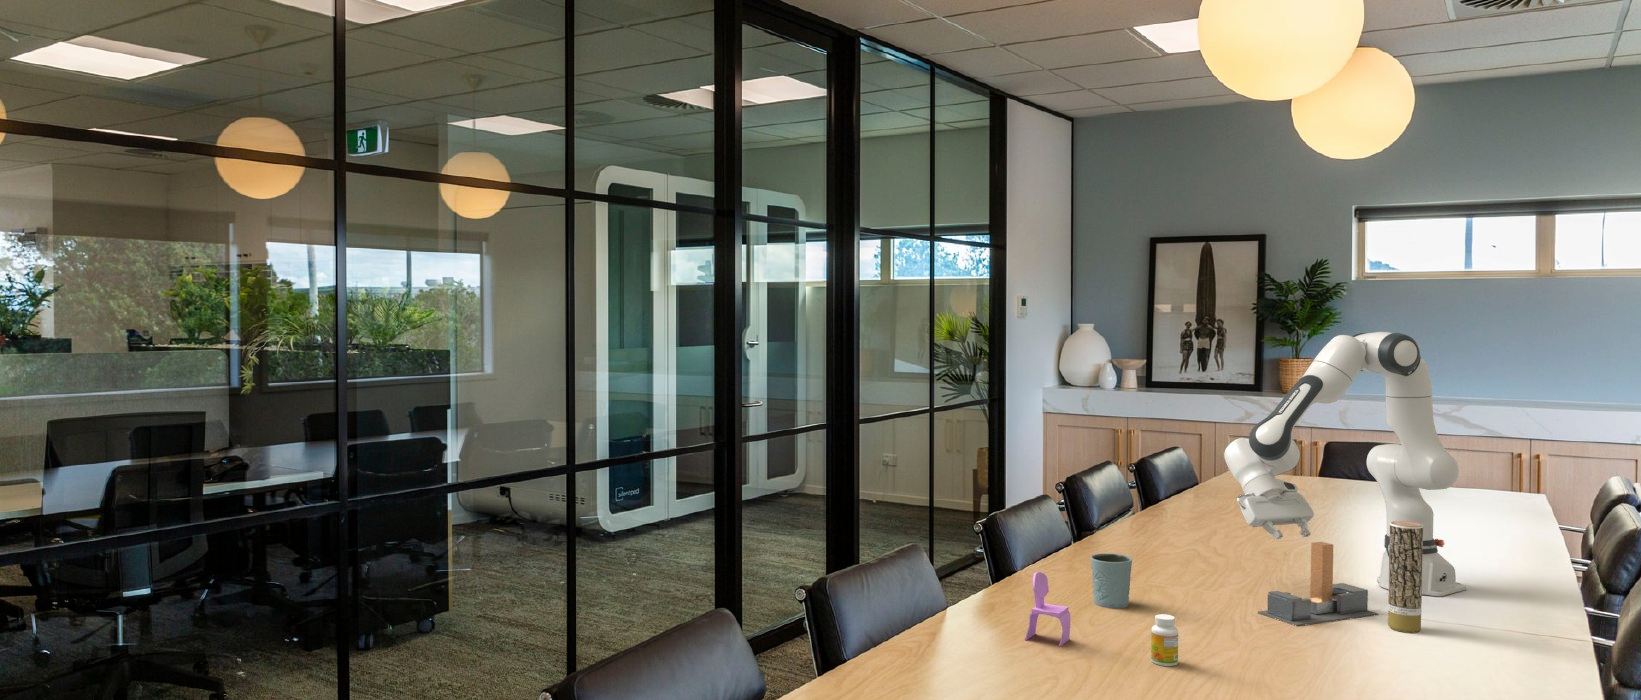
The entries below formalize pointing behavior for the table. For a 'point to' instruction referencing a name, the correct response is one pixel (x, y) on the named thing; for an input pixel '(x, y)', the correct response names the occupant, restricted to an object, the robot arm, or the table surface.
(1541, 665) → the table surface
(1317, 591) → the brown piece
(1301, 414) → the robot arm
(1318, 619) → the grey rectangular plate
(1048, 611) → the toy chair
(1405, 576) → the paper tube
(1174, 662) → the supplement bottle
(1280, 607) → the socket
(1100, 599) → the grey-green cup
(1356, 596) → the grey u-shaped block
